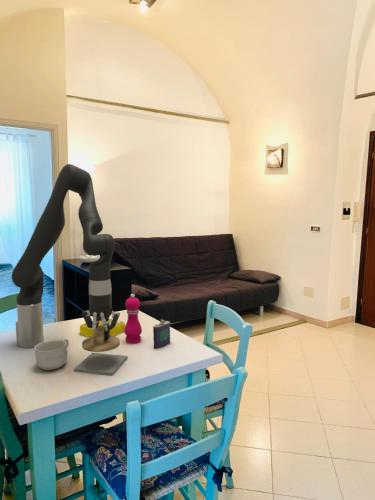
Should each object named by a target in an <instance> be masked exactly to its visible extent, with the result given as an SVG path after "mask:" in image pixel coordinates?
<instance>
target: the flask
mask: <svg viewBox="0 0 375 500" xmlns="http://www.w3.org/2000/svg"><path fill="white" fill-rule="evenodd" d="M152 329H153V330H152V331H153V332H152V333H153V336H152V337H153V349H154V350H159V349H163V348H164V347H167V346H168V345H169V344H171V321H168V320H165V319H164V320H163V319H160V322H159V323H158V324H157V323H156V324H155V325H153V326H152Z"/></svg>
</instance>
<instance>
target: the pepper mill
mask: <svg viewBox="0 0 375 500" xmlns="http://www.w3.org/2000/svg"><path fill="white" fill-rule="evenodd" d="M124 303H125V308H126V314H127V321H126V322H125V329H124V332H123V334H124V335H126V336H125V342H126V343H127V344H130V345H131V344H132V345H133V344H138V343H140V342H141V341H142V337H141V335H142V332H143V329H142V325H141V323H140V319H139V313H140V309H139V308H140V306H141V301H140V300H139V298H137V297H135V294H134V293H131V294H130V297H128V298H127V299H126V300H125V302H124Z"/></svg>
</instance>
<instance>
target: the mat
mask: <svg viewBox="0 0 375 500" xmlns="http://www.w3.org/2000/svg"><path fill="white" fill-rule="evenodd" d="M128 359H129V357H128V355H121V354H111V353H110V354H109V353H103V352H91V353H90V354H89V355H88V356H86V357H85V358H84V359H83V360H82V361H81V362H80V363H79V364H77V365H76V366H75V367H74V368H73V372H74V373H83V374H90V375H91V374H92V375H103V376H111V377H113V376H114V375H115V373H117V371H118V370H119V369H120V368H121V367H122V366H123V364H124V363H125V362H126V361H127V360H128Z"/></svg>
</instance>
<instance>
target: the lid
mask: <svg viewBox="0 0 375 500" xmlns="http://www.w3.org/2000/svg"><path fill="white" fill-rule="evenodd" d="M104 331H105V330H104V325H100V326H98V327H97V328H96V329H94V330H93V337H90V338H89V337H86V339H84V340H82V342H81V347H82V349H83V350H85V351H86V352H91V353H103V352H104V353H105V352H108V351H112V350H115V349H117V348H119V346H120V345H121V339H120V338H119V337H117V336H111V335H110V338H109V339H108V340H107V341H104Z"/></svg>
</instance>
